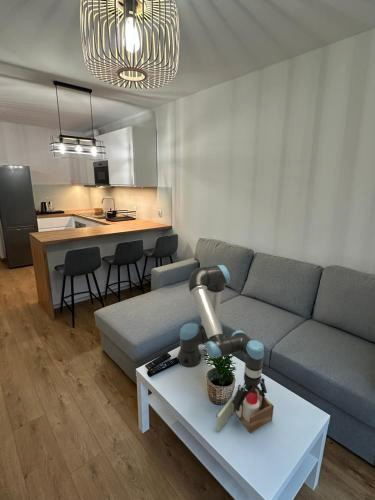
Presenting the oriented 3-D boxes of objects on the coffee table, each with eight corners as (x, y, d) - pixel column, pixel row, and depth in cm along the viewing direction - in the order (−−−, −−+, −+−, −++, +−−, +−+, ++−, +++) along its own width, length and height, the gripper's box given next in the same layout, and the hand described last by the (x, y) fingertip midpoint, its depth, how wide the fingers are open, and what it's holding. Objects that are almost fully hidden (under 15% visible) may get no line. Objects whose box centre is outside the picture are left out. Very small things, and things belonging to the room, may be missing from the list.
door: (228, 409, 132) (229, 395, 130) (232, 411, 131) (233, 397, 128) (214, 428, 122) (215, 414, 119) (219, 431, 120) (219, 417, 118)
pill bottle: (246, 405, 133) (248, 388, 130) (261, 414, 128) (262, 396, 125) (239, 416, 127) (240, 398, 124) (254, 425, 123) (255, 407, 119)
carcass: (233, 411, 131) (233, 396, 129) (253, 400, 137) (255, 386, 134) (250, 433, 120) (251, 417, 117) (272, 420, 126) (273, 405, 123)
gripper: (236, 387, 112) (233, 426, 118) (278, 370, 122) (272, 406, 128) (226, 376, 118) (223, 413, 124) (266, 360, 129) (262, 395, 135)
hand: (248, 410), depth 126 cm, fingers open, 12 cm apart
